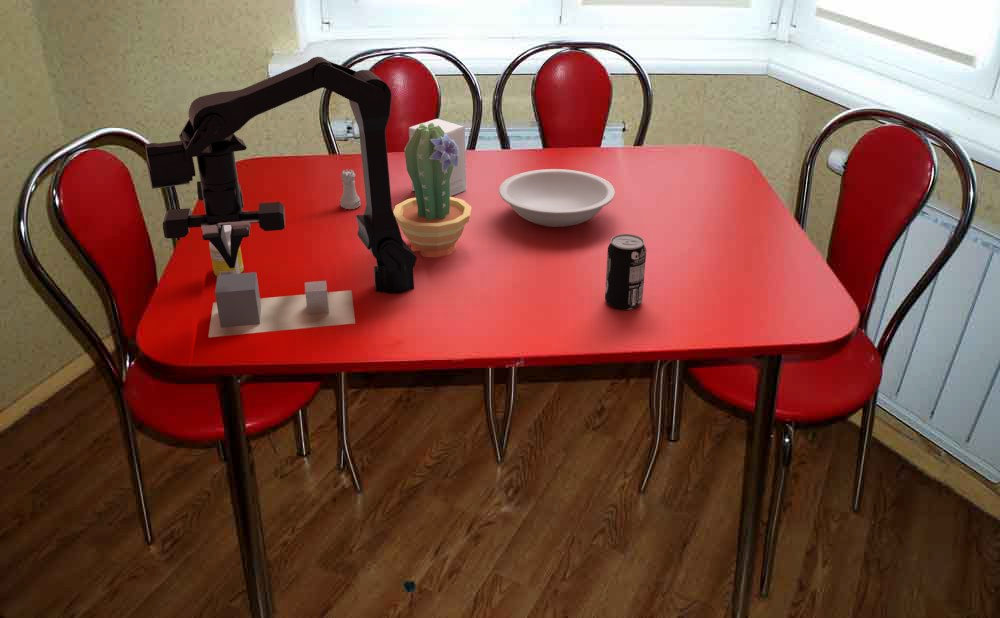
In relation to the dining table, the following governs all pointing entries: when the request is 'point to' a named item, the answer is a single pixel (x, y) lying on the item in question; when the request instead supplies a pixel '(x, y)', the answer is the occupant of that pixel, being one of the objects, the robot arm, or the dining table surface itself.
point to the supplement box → (458, 172)
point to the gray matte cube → (238, 299)
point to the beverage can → (625, 271)
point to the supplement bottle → (218, 261)
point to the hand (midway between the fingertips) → (232, 267)
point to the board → (290, 315)
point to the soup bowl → (556, 196)
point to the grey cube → (316, 297)
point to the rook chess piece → (349, 191)
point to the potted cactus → (432, 194)
